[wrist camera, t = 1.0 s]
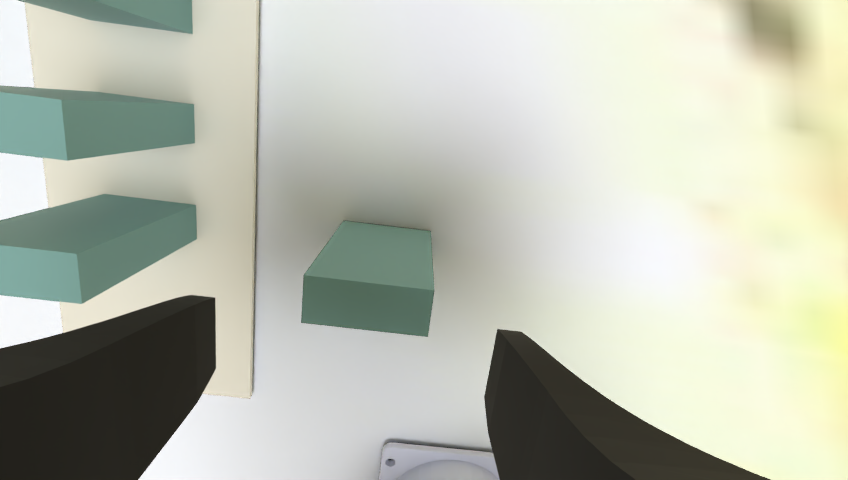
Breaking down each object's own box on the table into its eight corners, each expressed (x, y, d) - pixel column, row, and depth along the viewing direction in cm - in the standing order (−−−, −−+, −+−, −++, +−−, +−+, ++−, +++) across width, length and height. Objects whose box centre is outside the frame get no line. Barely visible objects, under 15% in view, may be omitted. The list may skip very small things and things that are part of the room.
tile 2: (197, 239, 20) (81, 303, 13) (106, 228, 20) (-56, 288, 13) (196, 204, 19) (76, 253, 13) (104, 193, 19) (-66, 237, 13)
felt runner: (252, 394, 23) (249, 398, 22) (73, 376, 22) (68, 379, 22) (263, -240, 15) (260, -247, 15) (-2, -282, 15) (-10, -290, 15)
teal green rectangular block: (426, 263, 21) (427, 336, 14) (341, 253, 20) (301, 322, 14) (430, 231, 20) (434, 290, 13) (343, 220, 20) (303, 275, 13)
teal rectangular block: (194, 142, 19) (67, 160, 12) (99, 131, 19) (-85, 142, 12) (194, 104, 18) (61, 99, 12) (96, 91, 18) (-97, 79, 11)
